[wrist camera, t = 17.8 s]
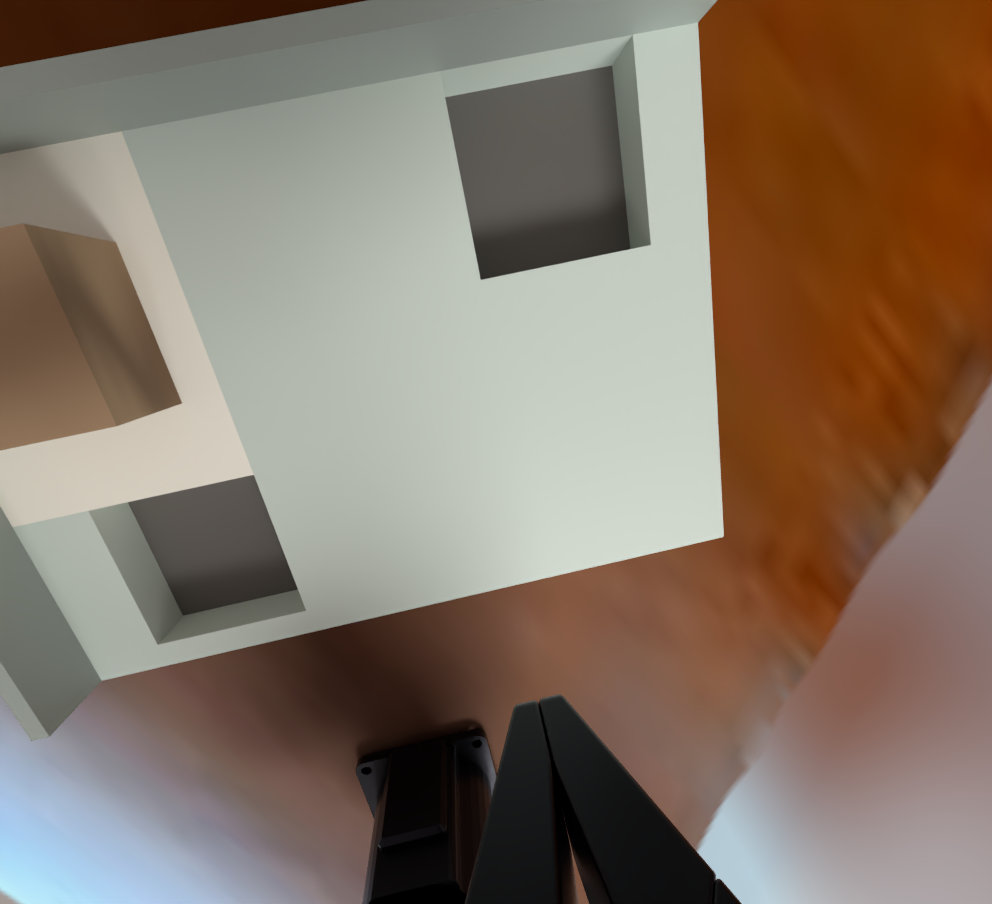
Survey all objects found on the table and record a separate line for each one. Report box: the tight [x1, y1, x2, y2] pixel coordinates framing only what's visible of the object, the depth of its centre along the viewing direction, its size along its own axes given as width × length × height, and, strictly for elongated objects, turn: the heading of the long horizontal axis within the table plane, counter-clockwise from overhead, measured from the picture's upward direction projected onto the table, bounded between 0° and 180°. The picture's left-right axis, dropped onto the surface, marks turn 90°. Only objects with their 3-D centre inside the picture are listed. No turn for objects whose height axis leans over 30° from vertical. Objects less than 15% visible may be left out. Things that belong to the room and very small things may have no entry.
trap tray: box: [0, 0, 724, 741], centre depth 16 cm, size 18×26×4 cm
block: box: [0, 223, 182, 451], centre depth 13 cm, size 5×5×3 cm
